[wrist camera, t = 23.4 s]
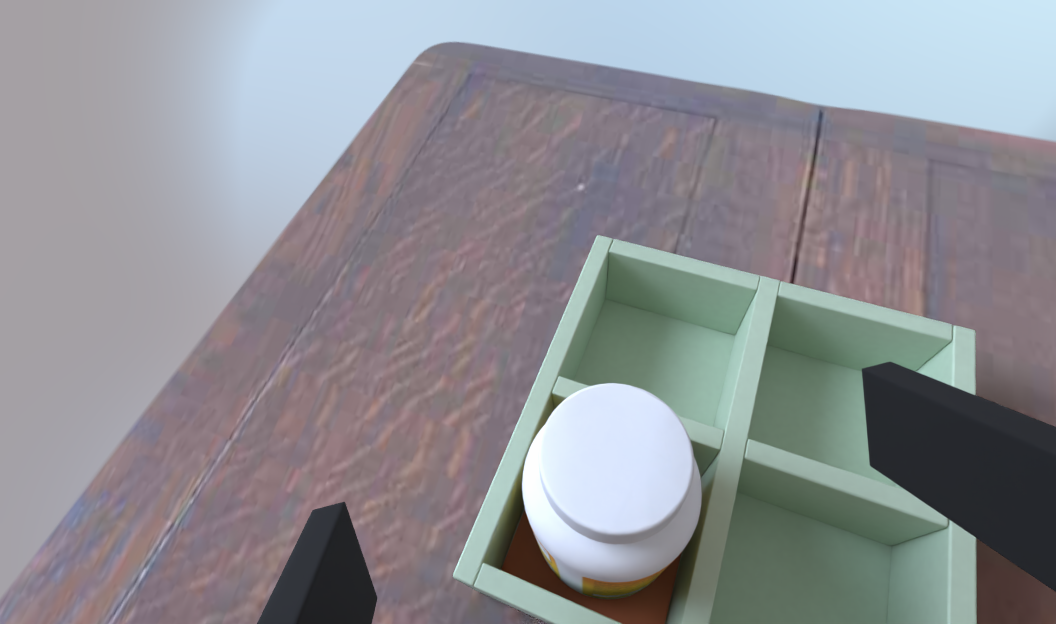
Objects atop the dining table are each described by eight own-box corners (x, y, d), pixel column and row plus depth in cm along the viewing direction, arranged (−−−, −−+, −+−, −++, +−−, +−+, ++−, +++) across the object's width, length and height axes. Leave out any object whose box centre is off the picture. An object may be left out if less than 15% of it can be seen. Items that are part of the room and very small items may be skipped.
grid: (474, 589, 22) (451, 576, 18) (594, 289, 29) (597, 234, 25) (893, 781, 18) (979, 817, 14) (915, 379, 25) (977, 329, 21)
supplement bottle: (692, 501, 22) (757, 415, 14) (634, 631, 20) (670, 618, 12) (577, 437, 24) (574, 328, 16) (512, 550, 22) (470, 489, 14)
